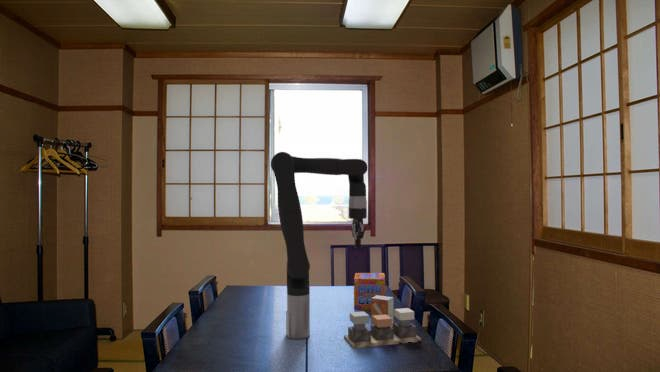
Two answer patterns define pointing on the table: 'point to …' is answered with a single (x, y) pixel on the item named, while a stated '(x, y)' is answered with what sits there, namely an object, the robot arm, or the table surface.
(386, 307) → the small box
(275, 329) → the table surface
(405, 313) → the plunger cream
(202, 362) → the table surface
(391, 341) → the button board
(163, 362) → the table surface
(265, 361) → the table surface
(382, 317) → the plunger terracotta
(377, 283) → the game box
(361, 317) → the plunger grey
